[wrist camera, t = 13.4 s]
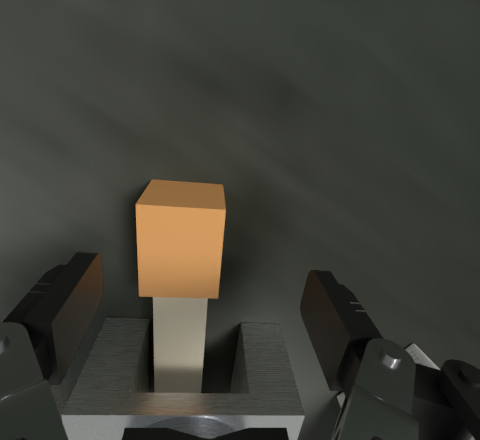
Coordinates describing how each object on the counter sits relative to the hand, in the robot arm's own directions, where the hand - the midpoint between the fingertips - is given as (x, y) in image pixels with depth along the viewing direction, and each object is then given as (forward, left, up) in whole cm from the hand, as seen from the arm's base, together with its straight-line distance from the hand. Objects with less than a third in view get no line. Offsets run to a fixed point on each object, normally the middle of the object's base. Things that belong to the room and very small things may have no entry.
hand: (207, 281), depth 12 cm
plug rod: (+1, +10, -7) cm, 12 cm away
